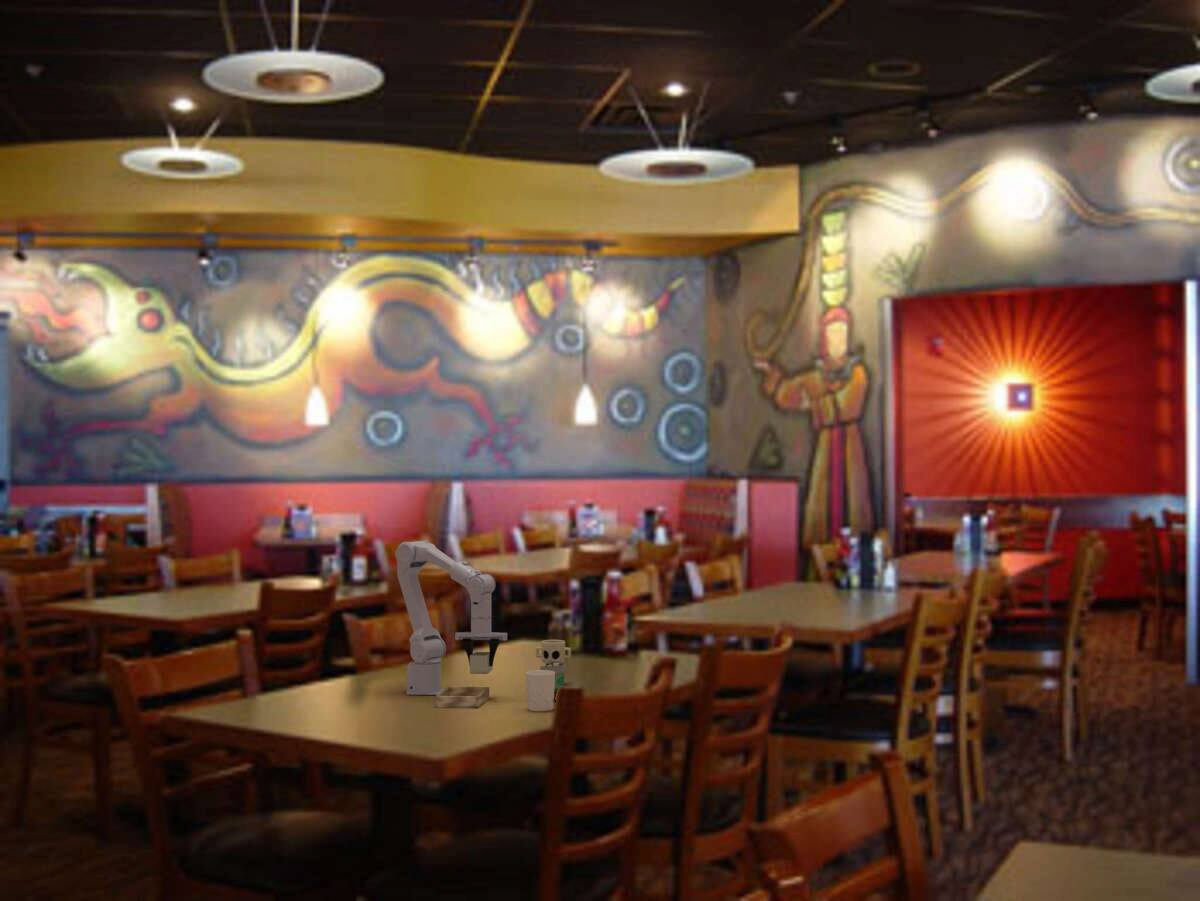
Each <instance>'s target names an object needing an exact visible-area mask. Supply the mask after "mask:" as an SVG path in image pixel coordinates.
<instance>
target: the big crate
mask: <svg viewBox="0 0 1200 901" xmlns="http://www.w3.org/2000/svg"><path fill="white" fill-rule="evenodd" d="M443 689H444V690H443V691H441V692H440V693H439V694H438V695H434V696H435V697H434V699H435V700H434V702H435V704H434V706H435V708H446V707H447V709H448V708H449V709H451V708H453V709H454V708H457V709H479V708H481V707H482V706H483V705H484V704H485V703H486V702H487V701H488V700H489V699H490V687H489V686H484V687H483V686H447V687H445V688H443Z"/></svg>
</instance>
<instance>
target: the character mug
mask: <svg viewBox="0 0 1200 901" xmlns="http://www.w3.org/2000/svg"><path fill="white" fill-rule="evenodd" d="M540 651H541V653H540ZM566 651H567V655H566ZM535 657H536V658H539V659H541V661H542V663H545V666H546V665H549V664H550V660H552V661H561V662H564V663H565V662H566V660H567V659H569V660H570V659H572V658H571V657H572V649H571V647H566V641H565V640H562V639H545V640H542V641H541V646H535Z"/></svg>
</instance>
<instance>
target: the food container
mask: <svg viewBox="0 0 1200 901" xmlns="http://www.w3.org/2000/svg"><path fill="white" fill-rule="evenodd" d="M539 668H540V669H539V670H548V671H554V672H555V689H554V700H555V697H556V693H557V690H558V688H560V687H564V686H565V673H566V672H568V669H567V664H566V663H565V661H564V662H561V661H552V660H550V664H549V665H546V664H545V665H543V666H542V665H541V666H540V667H539ZM554 700H553V702H555V701H554Z"/></svg>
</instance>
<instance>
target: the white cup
mask: <svg viewBox="0 0 1200 901" xmlns="http://www.w3.org/2000/svg"><path fill="white" fill-rule="evenodd" d="M525 680H526V682H525V683H526V697H527V698H526V699H527V709H528V710H529V711H531V712H550V711H552V710H553V709H554V701H553V700H554V689H555V672H554V671H548V670H540V669H536V670H529V671H526V672H525Z"/></svg>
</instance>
